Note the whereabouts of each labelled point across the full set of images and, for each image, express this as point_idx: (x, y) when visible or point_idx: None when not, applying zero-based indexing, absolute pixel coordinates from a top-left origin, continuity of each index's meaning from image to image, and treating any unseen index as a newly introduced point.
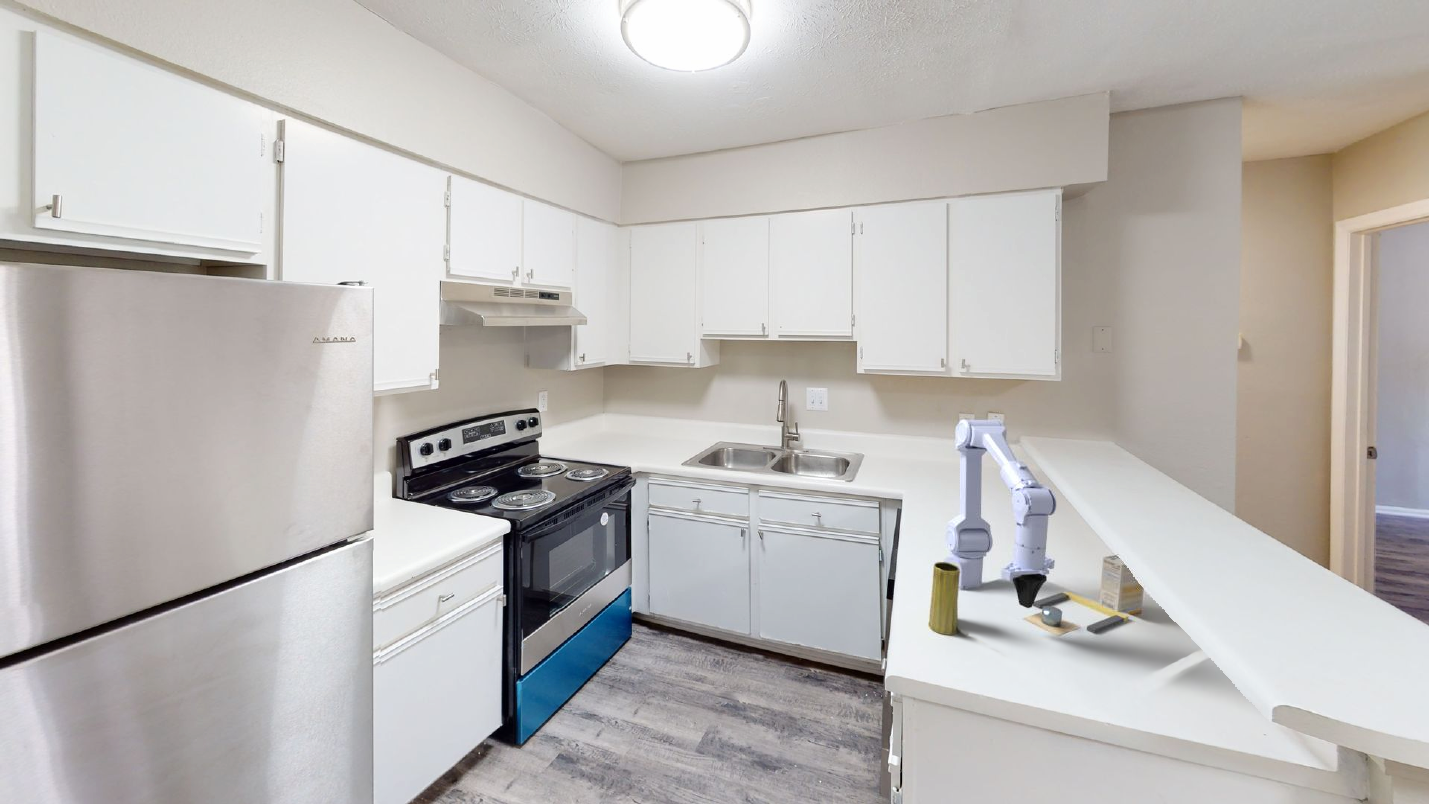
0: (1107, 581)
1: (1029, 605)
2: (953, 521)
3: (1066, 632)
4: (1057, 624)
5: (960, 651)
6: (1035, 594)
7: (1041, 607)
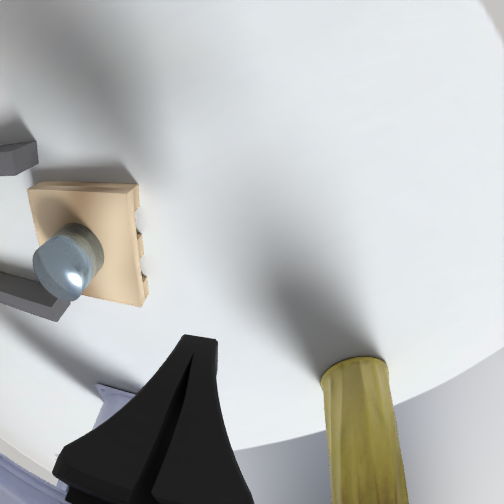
0: None
1: (210, 349)
2: None
3: (82, 191)
4: (77, 230)
5: (435, 310)
6: (161, 390)
7: (49, 299)
